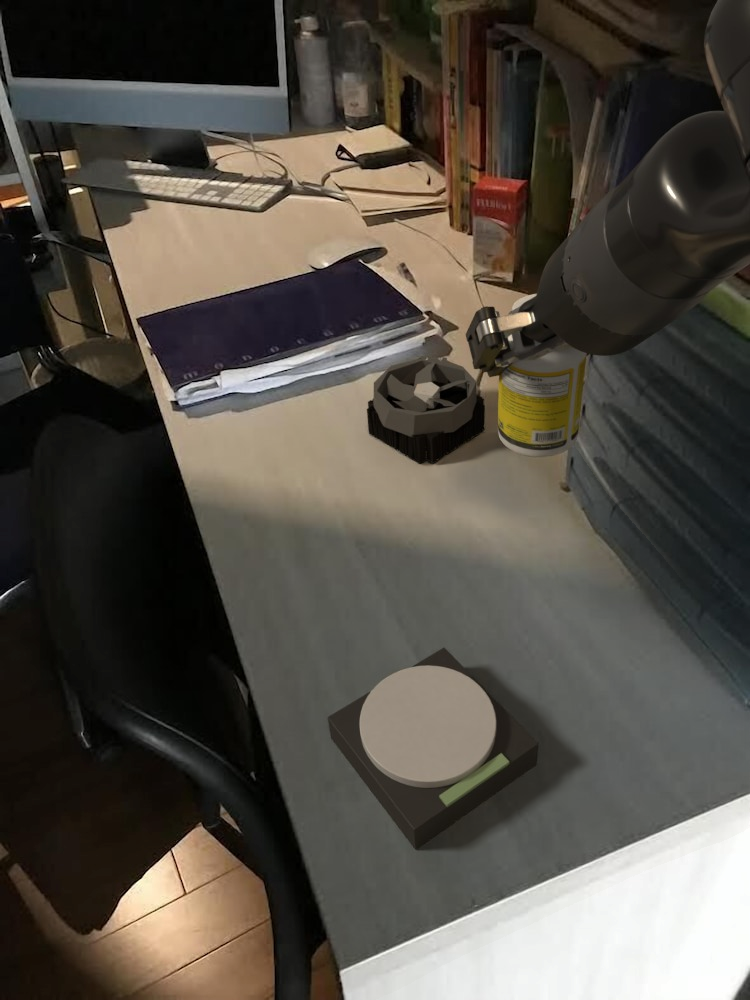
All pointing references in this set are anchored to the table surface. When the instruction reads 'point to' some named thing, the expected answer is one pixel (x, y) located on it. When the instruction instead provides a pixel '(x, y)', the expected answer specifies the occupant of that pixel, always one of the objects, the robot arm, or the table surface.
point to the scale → (432, 745)
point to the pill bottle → (541, 401)
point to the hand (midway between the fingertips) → (532, 354)
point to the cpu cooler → (425, 408)
